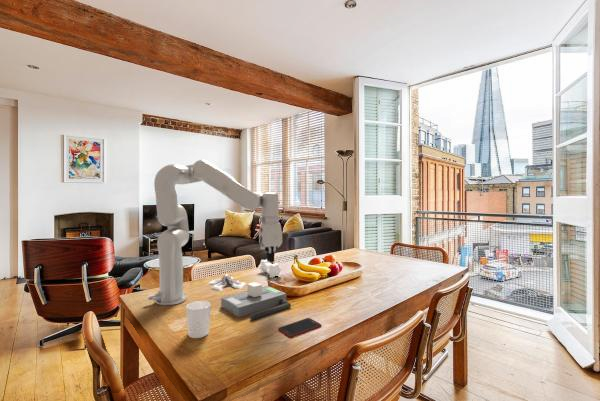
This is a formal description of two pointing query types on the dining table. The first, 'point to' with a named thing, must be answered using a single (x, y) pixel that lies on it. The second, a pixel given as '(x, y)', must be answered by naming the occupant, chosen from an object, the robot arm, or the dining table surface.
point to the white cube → (254, 289)
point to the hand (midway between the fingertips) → (270, 261)
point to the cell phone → (299, 327)
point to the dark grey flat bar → (271, 310)
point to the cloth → (226, 283)
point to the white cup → (198, 318)
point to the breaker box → (252, 301)
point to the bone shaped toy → (269, 268)
